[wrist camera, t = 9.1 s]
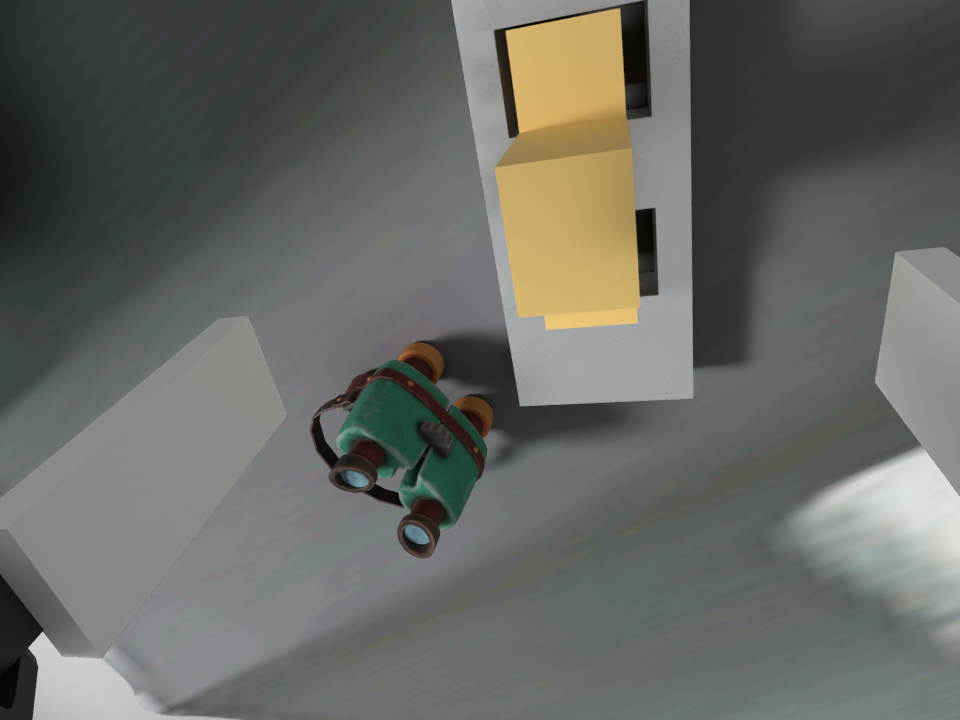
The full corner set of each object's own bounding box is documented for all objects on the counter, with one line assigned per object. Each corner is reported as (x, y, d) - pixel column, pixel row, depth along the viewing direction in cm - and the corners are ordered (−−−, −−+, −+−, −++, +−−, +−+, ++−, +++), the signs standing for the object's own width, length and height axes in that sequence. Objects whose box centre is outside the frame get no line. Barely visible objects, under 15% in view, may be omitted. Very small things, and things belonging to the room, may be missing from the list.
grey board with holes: (526, 377, 36) (520, 406, 33) (445, -128, 25) (426, -145, 22) (686, 368, 34) (693, 398, 31) (678, -191, 22) (687, -217, 20)
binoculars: (231, 507, 31) (345, 432, 26) (324, 389, 40) (425, 314, 35) (353, 610, 34) (480, 560, 29) (417, 478, 42) (524, 421, 37)
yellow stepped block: (632, 272, 31) (645, 398, 21) (555, 279, 32) (532, 404, 22) (617, 8, 26) (624, 7, 16) (525, 26, 27) (474, 37, 17)
